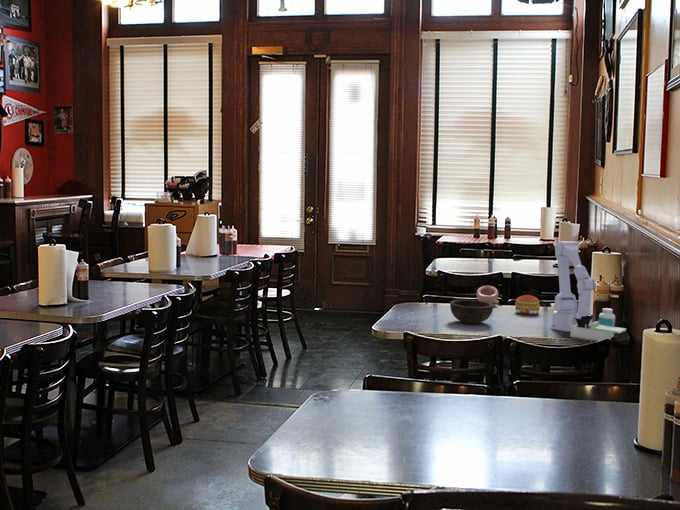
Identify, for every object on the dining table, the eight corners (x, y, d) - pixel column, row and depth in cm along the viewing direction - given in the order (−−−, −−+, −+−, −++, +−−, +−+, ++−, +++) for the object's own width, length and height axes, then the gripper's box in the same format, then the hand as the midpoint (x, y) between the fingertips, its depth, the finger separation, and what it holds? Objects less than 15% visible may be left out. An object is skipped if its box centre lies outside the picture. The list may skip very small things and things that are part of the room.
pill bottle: (614, 338, 402) (616, 310, 400) (598, 337, 403) (600, 309, 402) (612, 335, 409) (614, 308, 407) (596, 334, 411) (598, 307, 409)
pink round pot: (475, 305, 477) (476, 285, 475) (476, 302, 488) (477, 282, 487) (497, 307, 474) (498, 287, 473) (497, 303, 486) (498, 284, 484)
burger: (529, 310, 468) (530, 292, 467) (545, 315, 456) (546, 296, 455) (509, 311, 462) (510, 293, 461) (525, 316, 450) (526, 298, 449)
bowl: (446, 317, 439) (447, 299, 438) (488, 319, 439) (489, 300, 438) (452, 326, 417) (453, 306, 416) (496, 328, 418) (497, 308, 416)
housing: (570, 337, 400) (571, 326, 400) (578, 334, 408) (578, 323, 407) (603, 343, 391) (604, 331, 390) (610, 339, 399) (611, 328, 398)
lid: (589, 328, 394) (590, 323, 394) (596, 325, 402) (597, 320, 401) (619, 333, 386) (619, 328, 386) (626, 330, 393) (626, 325, 393)
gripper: (587, 306, 392) (585, 335, 393) (598, 302, 403) (596, 330, 405) (572, 304, 396) (570, 333, 397) (584, 300, 407) (582, 328, 409)
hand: (582, 331), depth 401 cm, fingers closed on brass jaw pin, 3 cm apart
